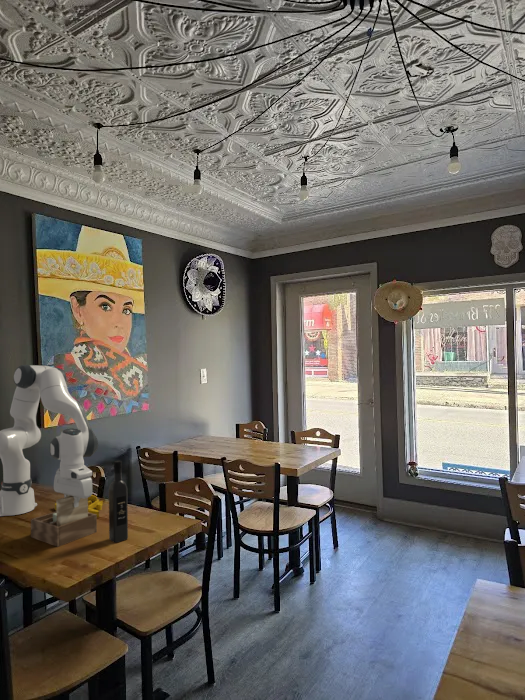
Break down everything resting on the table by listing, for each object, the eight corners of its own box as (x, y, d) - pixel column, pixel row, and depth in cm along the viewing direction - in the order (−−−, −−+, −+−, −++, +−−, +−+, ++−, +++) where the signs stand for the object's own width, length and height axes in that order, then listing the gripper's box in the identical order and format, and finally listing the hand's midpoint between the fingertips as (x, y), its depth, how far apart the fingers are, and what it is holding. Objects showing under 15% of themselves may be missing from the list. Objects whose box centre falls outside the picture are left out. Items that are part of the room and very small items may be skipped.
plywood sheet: (56, 536, 174) (56, 499, 175) (84, 526, 184) (83, 491, 185) (60, 537, 173) (60, 500, 173) (88, 527, 183) (87, 492, 183)
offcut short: (52, 521, 181) (52, 513, 181) (67, 517, 185) (67, 509, 185) (57, 523, 178) (57, 515, 178) (72, 519, 183) (72, 511, 183)
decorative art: (88, 493, 229) (122, 505, 210) (88, 499, 229) (122, 511, 210) (46, 504, 213) (78, 517, 194) (47, 510, 213) (78, 524, 194)
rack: (30, 537, 179) (30, 519, 180) (69, 523, 194) (69, 507, 194) (57, 546, 169) (57, 527, 170) (96, 531, 184) (96, 514, 184)
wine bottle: (128, 539, 175) (128, 461, 176) (114, 543, 172) (114, 463, 172) (122, 535, 180) (121, 459, 180) (108, 539, 176) (107, 461, 176)
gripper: (49, 469, 182) (49, 504, 182) (80, 475, 171) (81, 512, 171) (63, 466, 187) (64, 499, 187) (95, 472, 176) (95, 507, 176)
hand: (72, 506), depth 179 cm, fingers closed on plywood sheet, 2 cm apart
